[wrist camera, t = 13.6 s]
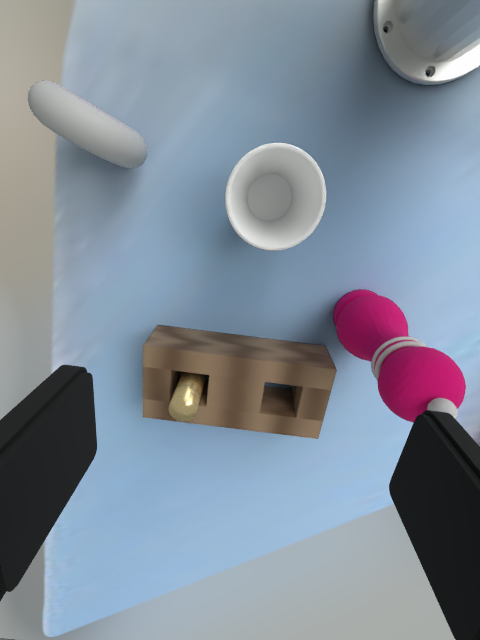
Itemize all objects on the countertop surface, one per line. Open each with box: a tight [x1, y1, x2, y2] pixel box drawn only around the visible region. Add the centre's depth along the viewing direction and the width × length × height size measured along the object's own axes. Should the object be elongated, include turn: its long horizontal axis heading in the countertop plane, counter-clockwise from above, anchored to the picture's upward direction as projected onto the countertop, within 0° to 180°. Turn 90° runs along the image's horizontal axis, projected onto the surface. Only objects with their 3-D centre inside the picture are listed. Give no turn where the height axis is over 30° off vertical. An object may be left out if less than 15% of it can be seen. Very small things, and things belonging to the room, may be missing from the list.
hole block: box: [143, 325, 337, 439], centre depth 41 cm, size 22×10×6 cm, turn 83°
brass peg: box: [169, 372, 206, 421], centre depth 39 cm, size 3×3×10 cm
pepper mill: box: [333, 290, 466, 422], centre depth 30 cm, size 7×7×20 cm
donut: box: [28, 81, 147, 168], centre depth 29 cm, size 10×4×10 cm, turn 60°
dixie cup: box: [225, 143, 326, 251], centre depth 30 cm, size 8×8×11 cm
